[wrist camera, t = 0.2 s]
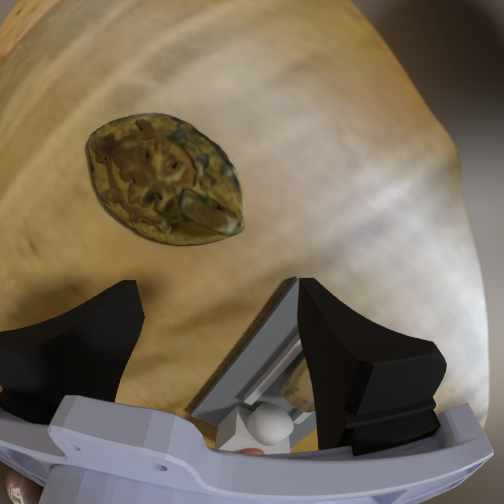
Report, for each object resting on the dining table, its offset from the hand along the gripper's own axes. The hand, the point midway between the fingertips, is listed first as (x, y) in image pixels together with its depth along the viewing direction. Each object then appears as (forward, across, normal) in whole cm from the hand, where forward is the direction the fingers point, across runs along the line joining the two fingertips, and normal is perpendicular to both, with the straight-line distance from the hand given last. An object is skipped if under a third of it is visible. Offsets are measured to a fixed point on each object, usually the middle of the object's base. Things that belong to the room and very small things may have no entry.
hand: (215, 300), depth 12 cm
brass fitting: (+8, -7, +12) cm, 16 cm away
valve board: (+8, -5, +15) cm, 18 cm away
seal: (+12, +5, -4) cm, 13 cm away
